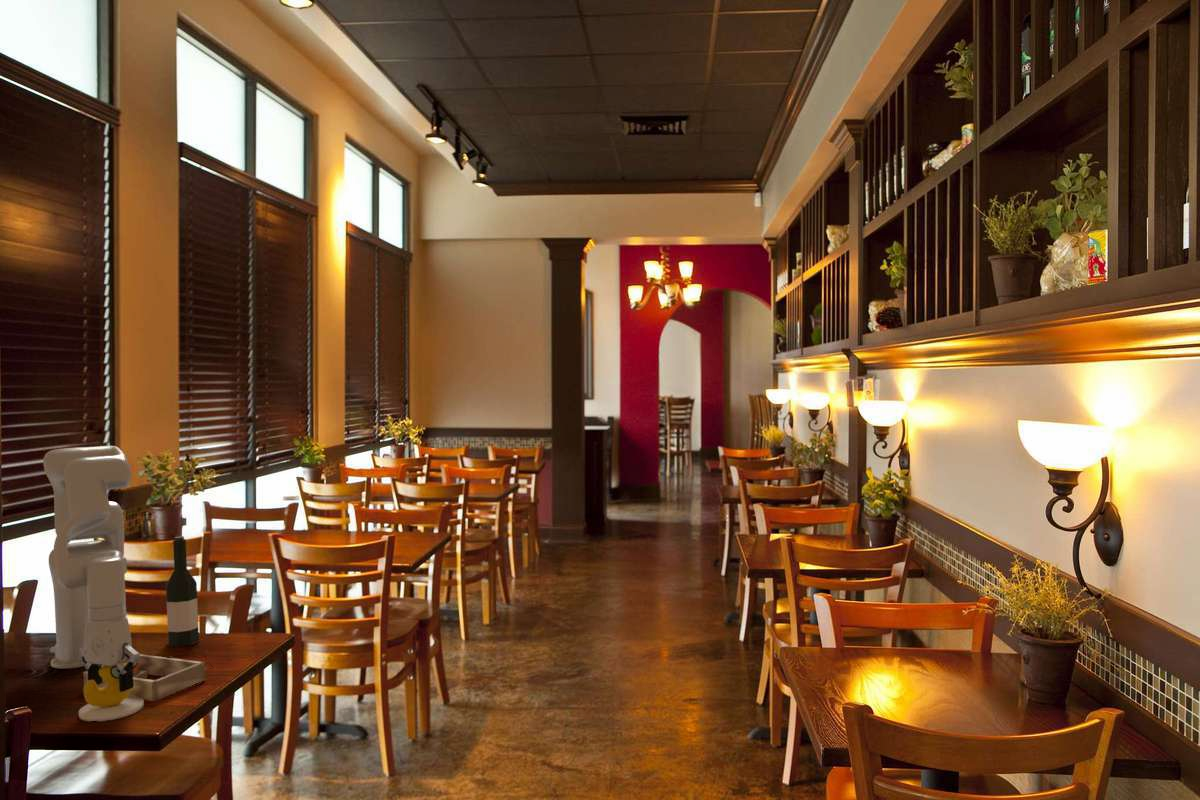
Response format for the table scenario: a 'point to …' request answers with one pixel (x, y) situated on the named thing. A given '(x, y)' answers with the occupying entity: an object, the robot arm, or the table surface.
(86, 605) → the robot arm
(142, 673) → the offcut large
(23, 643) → the table surface
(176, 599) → the wine bottle
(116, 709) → the plate
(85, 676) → the tray
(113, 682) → the duckling
